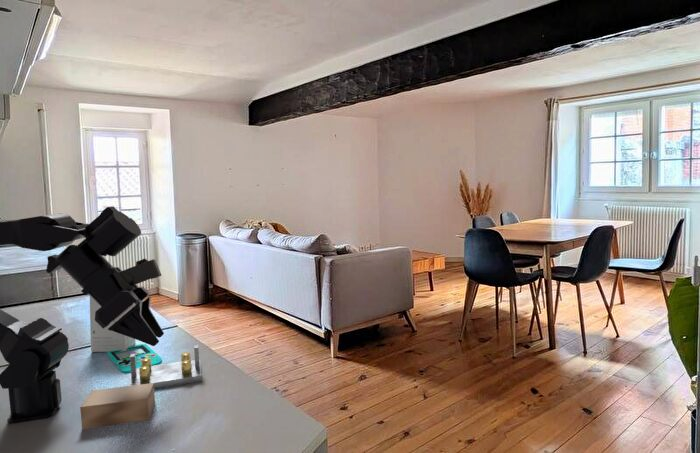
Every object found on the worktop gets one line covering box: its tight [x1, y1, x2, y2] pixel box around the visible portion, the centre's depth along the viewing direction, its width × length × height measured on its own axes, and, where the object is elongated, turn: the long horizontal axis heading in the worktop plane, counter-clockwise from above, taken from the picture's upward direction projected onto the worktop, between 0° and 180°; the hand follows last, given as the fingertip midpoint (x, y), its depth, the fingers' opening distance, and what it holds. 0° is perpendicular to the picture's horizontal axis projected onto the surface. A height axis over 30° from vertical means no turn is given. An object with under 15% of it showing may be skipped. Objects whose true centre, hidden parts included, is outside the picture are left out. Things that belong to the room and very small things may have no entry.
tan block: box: [79, 383, 156, 430], centre depth 77 cm, size 10×6×4 cm, turn 104°
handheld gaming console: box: [107, 343, 163, 374], centre depth 103 cm, size 8×1×15 cm
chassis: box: [128, 344, 203, 390], centre depth 92 cm, size 13×9×6 cm
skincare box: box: [89, 295, 136, 353], centre depth 109 cm, size 8×6×15 cm
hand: (159, 339), depth 80 cm, fingers open, 9 cm apart
